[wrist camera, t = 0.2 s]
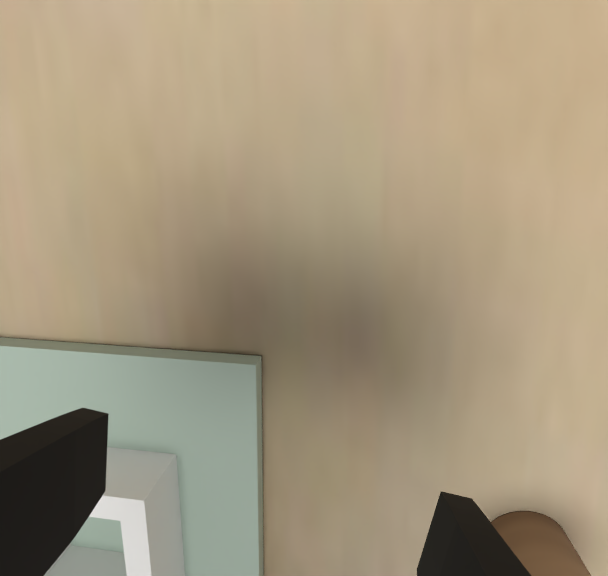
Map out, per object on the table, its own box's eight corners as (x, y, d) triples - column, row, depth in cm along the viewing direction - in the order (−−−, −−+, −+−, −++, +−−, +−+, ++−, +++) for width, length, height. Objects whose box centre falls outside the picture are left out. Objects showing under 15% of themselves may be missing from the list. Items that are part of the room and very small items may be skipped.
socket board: (264, 641, 23) (245, 732, 19) (18, 600, 25) (-45, 676, 21) (261, 356, 18) (236, 399, 15) (-37, 334, 20) (-129, 367, 17)
